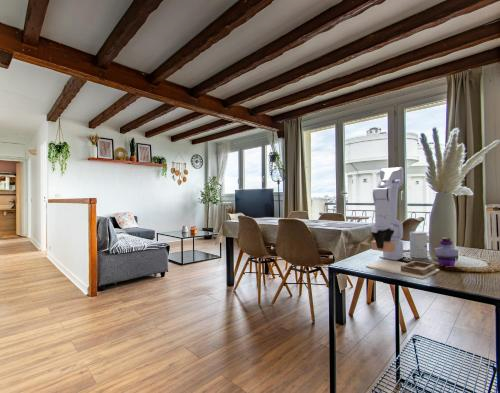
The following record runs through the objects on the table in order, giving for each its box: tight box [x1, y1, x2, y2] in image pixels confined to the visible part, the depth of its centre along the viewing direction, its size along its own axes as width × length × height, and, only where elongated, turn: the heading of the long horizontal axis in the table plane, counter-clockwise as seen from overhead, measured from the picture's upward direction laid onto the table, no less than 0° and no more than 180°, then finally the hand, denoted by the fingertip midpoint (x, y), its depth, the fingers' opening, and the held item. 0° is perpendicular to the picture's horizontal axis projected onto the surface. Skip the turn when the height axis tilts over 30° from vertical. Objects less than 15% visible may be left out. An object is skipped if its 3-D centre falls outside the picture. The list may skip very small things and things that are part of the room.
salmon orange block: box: [371, 240, 395, 252], centre depth 118 cm, size 4×8×4 cm, turn 37°
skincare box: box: [409, 230, 428, 259], centre depth 131 cm, size 6×4×12 cm
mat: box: [365, 259, 440, 280], centre depth 114 cm, size 16×22×1 cm
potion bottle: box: [434, 236, 459, 267], centre depth 115 cm, size 9×9×12 cm
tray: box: [401, 260, 437, 276], centre depth 109 cm, size 12×8×2 cm, turn 127°
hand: (383, 247), depth 118 cm, fingers closed on salmon orange block, 4 cm apart
